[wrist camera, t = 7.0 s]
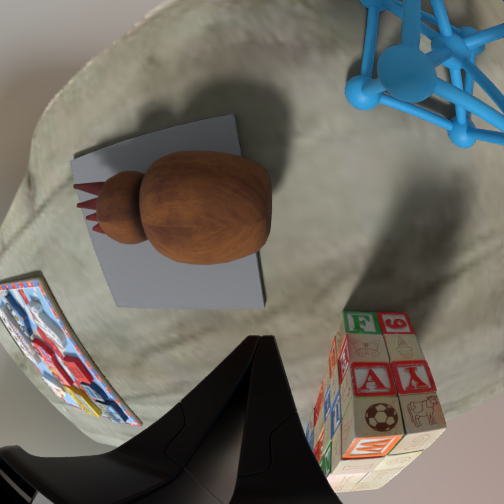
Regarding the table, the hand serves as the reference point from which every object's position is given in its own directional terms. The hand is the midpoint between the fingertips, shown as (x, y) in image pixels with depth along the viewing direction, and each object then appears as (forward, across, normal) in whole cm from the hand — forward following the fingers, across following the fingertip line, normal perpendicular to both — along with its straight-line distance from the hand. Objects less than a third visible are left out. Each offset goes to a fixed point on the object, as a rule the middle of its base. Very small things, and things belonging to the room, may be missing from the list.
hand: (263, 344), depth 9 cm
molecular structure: (+13, -11, -11) cm, 20 cm away
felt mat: (+12, +10, 0) cm, 16 cm away
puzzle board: (+13, +40, +20) cm, 46 cm away
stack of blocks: (+13, -5, +19) cm, 24 cm away
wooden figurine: (+9, 0, -2) cm, 9 cm away
